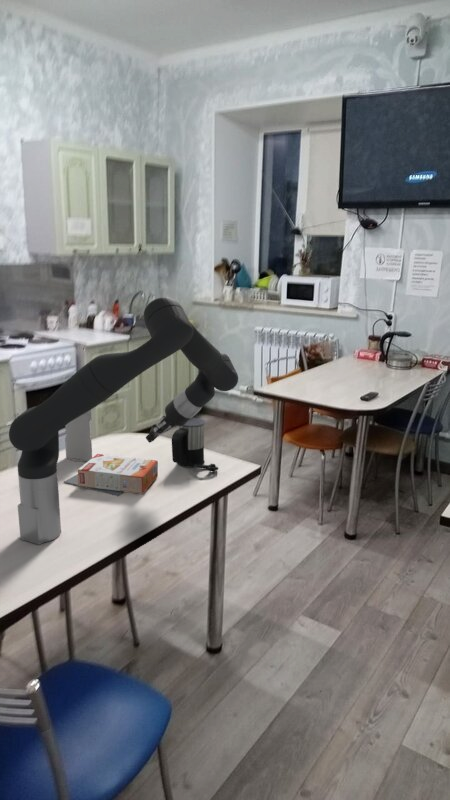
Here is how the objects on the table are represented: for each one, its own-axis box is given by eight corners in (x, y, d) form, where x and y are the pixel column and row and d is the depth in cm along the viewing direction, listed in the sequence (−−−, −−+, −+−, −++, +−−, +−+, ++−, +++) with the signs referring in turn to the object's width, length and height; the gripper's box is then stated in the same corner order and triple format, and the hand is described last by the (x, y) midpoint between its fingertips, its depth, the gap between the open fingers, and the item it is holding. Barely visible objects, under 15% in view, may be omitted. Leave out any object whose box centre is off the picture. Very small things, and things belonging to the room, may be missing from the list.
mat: (117, 496, 167) (117, 494, 167) (64, 482, 175) (64, 481, 175) (157, 470, 186) (157, 468, 186) (107, 458, 194) (107, 457, 194)
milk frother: (183, 456, 199) (183, 415, 194) (226, 461, 194) (227, 420, 190) (168, 471, 185) (168, 428, 181) (214, 478, 181) (215, 434, 177)
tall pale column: (62, 459, 192) (58, 397, 186) (68, 455, 196) (64, 394, 190) (90, 463, 190) (87, 400, 184) (96, 459, 194) (93, 397, 188)
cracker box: (143, 475, 165) (76, 468, 170) (143, 494, 167) (77, 487, 171) (158, 458, 179) (96, 452, 183) (158, 476, 180) (97, 470, 184)
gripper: (181, 423, 156) (144, 456, 165) (203, 410, 168) (167, 442, 176) (164, 402, 157) (128, 436, 165) (187, 391, 169) (152, 423, 177)
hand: (148, 439), depth 171 cm, fingers closed
